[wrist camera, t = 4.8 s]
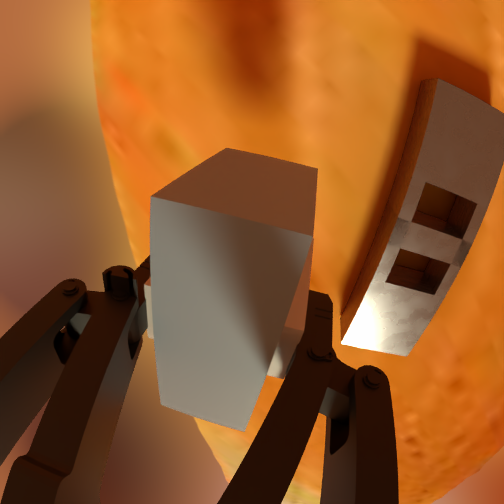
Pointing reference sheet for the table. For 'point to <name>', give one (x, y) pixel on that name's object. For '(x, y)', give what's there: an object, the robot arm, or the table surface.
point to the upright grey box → (226, 278)
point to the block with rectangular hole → (426, 218)
